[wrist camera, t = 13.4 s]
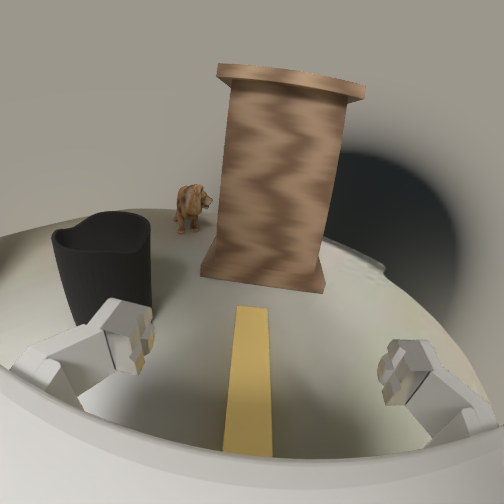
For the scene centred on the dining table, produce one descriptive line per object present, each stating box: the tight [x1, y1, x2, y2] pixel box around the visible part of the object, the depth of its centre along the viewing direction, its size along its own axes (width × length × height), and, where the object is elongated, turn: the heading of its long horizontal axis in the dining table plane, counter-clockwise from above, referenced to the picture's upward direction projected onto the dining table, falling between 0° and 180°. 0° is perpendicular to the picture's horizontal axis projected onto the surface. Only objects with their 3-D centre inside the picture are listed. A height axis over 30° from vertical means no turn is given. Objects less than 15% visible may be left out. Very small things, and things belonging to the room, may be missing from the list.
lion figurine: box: [174, 184, 213, 234], centre depth 50 cm, size 15×5×9 cm, turn 27°
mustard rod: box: [223, 305, 273, 457], centre depth 17 cm, size 3×24×3 cm, turn 179°
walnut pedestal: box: [200, 63, 366, 294], centre depth 37 cm, size 16×14×26 cm
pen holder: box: [51, 211, 152, 326], centre depth 25 cm, size 9×9×10 cm
